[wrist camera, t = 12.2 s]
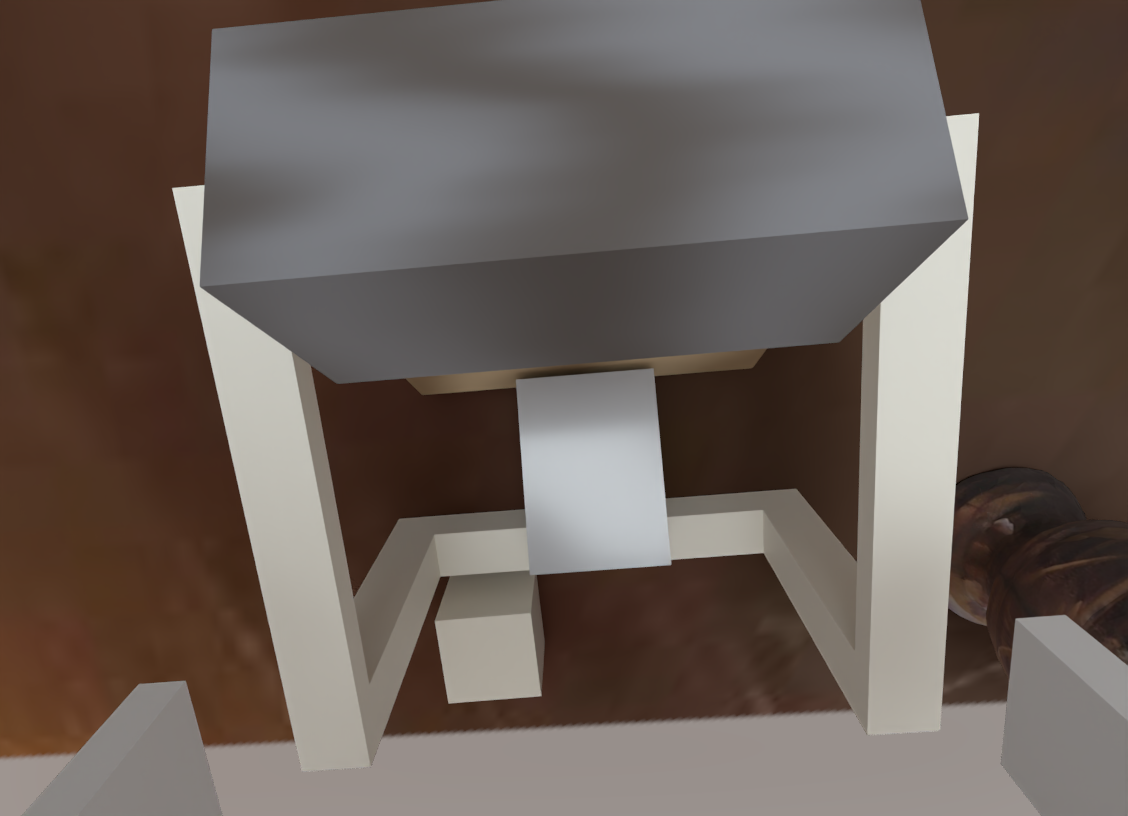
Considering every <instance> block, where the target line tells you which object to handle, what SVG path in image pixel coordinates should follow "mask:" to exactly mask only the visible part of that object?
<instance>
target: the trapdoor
mask: <svg viewBox="0 0 1128 816" xmlns="http://www.w3.org/2000/svg"><path fill="white" fill-rule="evenodd" d="M967 220H968V214H967V209H966V205H965V200H964V196H963V191H962V187H961V182H960V178H959V173H958V169H957V164H956V160H955V155H954V150H953V146H952V141H951V137H950V132H949V128H948V123H947V119H946V114H945V110H944V105H943V101H942V96H941V92H940V87H939V82H938V78H937V73H936V69H935V64H934V60H933V55H932V51H931V46H930V42H929V37H928V33H927V28H926V23H925V19H924V14H923V10H922V5H921V1H920V0H499V1H489V2H479V3H469V4H459V5H449V6H439V7H429V8H419V9H409V10H399V11H389V12H379V13H369V14H360V15H350V16H340V17H330V18H320V19H310V20H300V21H290V22H280V23H270V24H260V25H250V26H240V27H230V28H220V29H212V45H211V65H210V85H209V105H208V125H207V146H206V166H205V186H204V206H203V226H202V247H201V267H200V287H201V288H202V289H203V290H205V291H206V292H208V293H209V294H210V295H212V296H213V297H215V298H216V299H218V300H219V301H220V302H222V303H223V304H225V305H226V306H227V307H229V308H230V309H232V310H233V311H235V312H236V313H237V314H239V315H240V316H242V317H243V318H244V319H246V320H247V321H249V322H250V323H252V324H253V325H254V326H256V327H257V328H259V329H260V330H262V331H263V332H264V333H266V334H267V335H269V336H270V337H271V338H273V339H274V340H276V341H277V342H279V343H280V344H281V345H283V346H284V347H286V348H287V349H288V350H290V351H291V352H293V353H294V354H296V355H297V356H298V357H300V358H301V359H303V360H304V361H306V362H307V363H308V364H310V365H311V366H313V367H314V368H315V369H317V370H318V371H320V372H321V373H323V374H324V375H325V376H327V377H328V378H330V379H331V380H332V381H334V382H335V383H337V384H342V383H354V382H366V381H378V380H390V379H402V378H405V379H406V380H407V381H408V382H409V383H410V384H411V385H412V386H413V387H414V388H415V389H416V390H418V391H419V392H420V393H421V394H422V395H431V394H443V393H455V392H468V391H480V390H492V389H504V388H516V380H517V379H529V378H542V377H554V376H566V375H578V374H590V373H602V372H615V371H627V370H639V369H651V368H654V376H663V375H675V374H687V373H700V372H712V371H724V370H736V369H748V368H753V367H754V365H755V364H756V363H757V361H758V360H759V359H760V357H761V356H762V355H763V353H764V352H765V351H766V349H767V348H777V347H789V346H801V345H813V344H826V343H838V342H840V341H841V340H842V339H843V338H844V337H845V336H846V335H847V334H848V333H849V332H851V331H852V330H853V329H854V328H855V327H856V326H857V325H858V324H859V323H860V322H861V321H862V320H863V319H864V318H865V317H866V316H867V315H868V314H869V313H871V312H872V311H873V310H874V309H875V308H876V307H877V306H878V305H879V304H880V303H881V302H882V301H883V300H884V299H885V298H886V297H887V296H888V295H889V294H890V293H892V292H893V291H894V290H895V289H896V288H897V287H898V286H899V285H900V284H901V283H902V282H903V281H904V280H905V279H906V278H907V277H908V276H909V275H910V274H911V273H913V272H914V271H915V270H916V269H917V268H918V267H919V266H920V265H921V264H922V263H923V262H924V261H925V260H926V259H927V258H928V257H929V256H930V255H931V254H933V253H934V252H935V251H936V250H937V249H938V248H939V247H940V246H941V245H942V244H943V243H944V242H945V241H946V240H947V239H948V238H949V237H950V236H951V235H952V234H954V233H955V232H956V231H957V230H958V229H959V228H960V227H961V226H962V225H963V224H964V223H965V222H966V221H967Z"/></svg>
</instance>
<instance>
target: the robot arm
mask: <svg viewBox="0 0 1128 816" xmlns="http://www.w3.org/2000/svg"><path fill="white" fill-rule="evenodd" d="M1001 765H1002V766H1003V767H1004V769H1005V770H1006V771H1007V773H1008V774H1009V775H1010V776H1011V778H1012V779H1013V780H1014V781H1015V783H1016V784H1017V785H1018V787H1019V788H1020V789H1021V790H1022V792H1023V793H1024V794H1025V796H1026V797H1027V798H1028V799H1029V800H1030V802H1031V803H1032V804H1033V806H1034V807H1035V808H1036V810H1037V811H1038V812H1039V813H1040V815H1041V816H1128V665H1126V664H1125V663H1124V662H1123V661H1121V660H1120V659H1119V658H1118V657H1117V656H1115V655H1114V654H1113V653H1112V652H1110V651H1109V650H1108V649H1107V648H1105V647H1104V646H1103V645H1102V644H1101V643H1099V642H1098V641H1097V640H1096V639H1094V638H1093V637H1092V636H1091V635H1090V634H1088V633H1087V632H1086V631H1085V630H1083V629H1082V628H1081V627H1080V626H1078V625H1077V624H1076V623H1075V622H1074V621H1072V620H1071V619H1070V618H1069V617H1067V616H1066V615H1057V616H1043V617H1030V618H1017V619H1015V628H1014V638H1013V648H1012V658H1011V668H1010V677H1009V687H1008V697H1007V707H1006V718H1005V728H1004V737H1003V747H1002V756H1001ZM22 816H223V815H222V812H221V808H220V805H219V801H218V797H217V793H216V790H215V787H214V782H213V779H212V775H211V772H210V768H209V764H208V760H207V757H206V753H205V749H204V746H203V742H202V738H201V735H200V731H199V728H198V724H197V720H196V717H195V713H194V709H193V706H192V702H191V698H190V695H189V691H188V687H187V684H186V681H175V682H161V683H148V684H138V686H137V687H136V688H135V689H134V690H133V691H132V692H131V693H130V695H129V696H128V697H127V698H126V699H125V700H124V701H123V702H122V703H121V705H120V706H119V707H118V708H117V709H116V710H115V711H114V712H113V714H112V715H111V716H110V717H109V718H108V719H107V720H106V721H105V723H104V724H103V725H102V726H101V727H100V728H99V729H98V730H97V732H96V733H95V734H94V735H93V736H92V737H91V738H90V739H89V740H88V742H87V743H86V744H85V745H84V746H83V747H82V748H81V749H80V751H79V752H78V753H77V754H76V755H75V756H74V757H73V758H72V760H71V761H70V762H69V763H68V764H67V765H66V766H65V768H64V769H63V770H62V771H61V772H60V773H59V774H58V775H57V777H56V778H55V779H54V780H53V781H52V782H51V783H50V784H49V786H47V788H46V789H45V790H44V791H43V792H42V793H41V794H40V795H39V797H38V798H37V799H36V800H35V801H34V802H33V803H32V804H31V806H30V807H29V808H28V809H27V810H26V811H25V812H24V814H23V815H22Z"/></svg>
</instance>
